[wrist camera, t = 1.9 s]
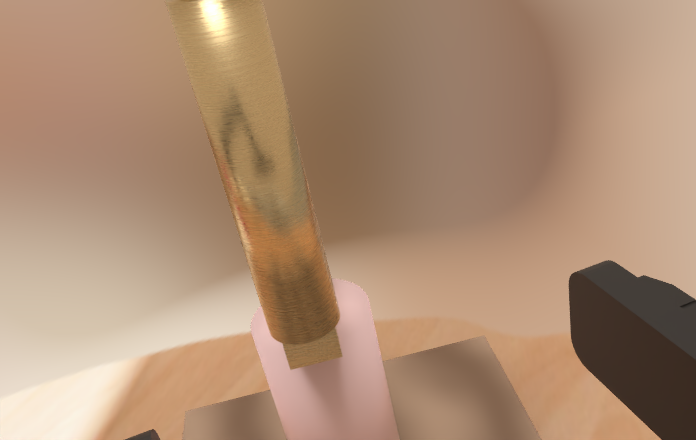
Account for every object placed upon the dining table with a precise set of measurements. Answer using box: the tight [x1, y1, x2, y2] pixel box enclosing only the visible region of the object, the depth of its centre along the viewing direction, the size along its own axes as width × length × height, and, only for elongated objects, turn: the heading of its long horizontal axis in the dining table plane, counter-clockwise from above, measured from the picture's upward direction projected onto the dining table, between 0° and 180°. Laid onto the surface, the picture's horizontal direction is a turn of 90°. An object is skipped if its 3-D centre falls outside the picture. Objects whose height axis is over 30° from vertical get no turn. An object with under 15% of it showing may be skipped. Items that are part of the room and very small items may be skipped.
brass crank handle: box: [165, 0, 343, 370], centre depth 29 cm, size 16×3×27 cm, turn 8°
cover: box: [251, 278, 400, 440], centre depth 31 cm, size 6×6×12 cm
